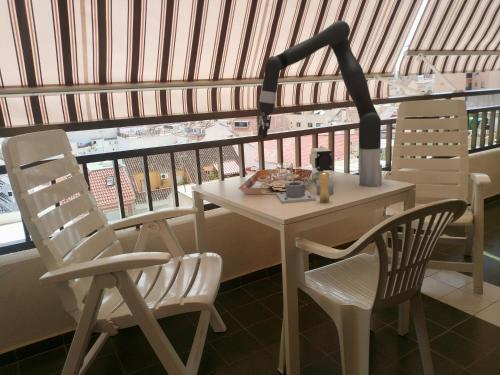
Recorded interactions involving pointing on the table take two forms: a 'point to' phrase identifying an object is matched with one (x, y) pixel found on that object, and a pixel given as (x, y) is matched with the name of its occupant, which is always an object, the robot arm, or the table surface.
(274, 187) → the plant saucer
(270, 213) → the table surface
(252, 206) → the table surface
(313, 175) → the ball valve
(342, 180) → the table surface
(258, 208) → the table surface
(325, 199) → the cylinder
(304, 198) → the flange coupling
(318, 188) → the grey wide stub
